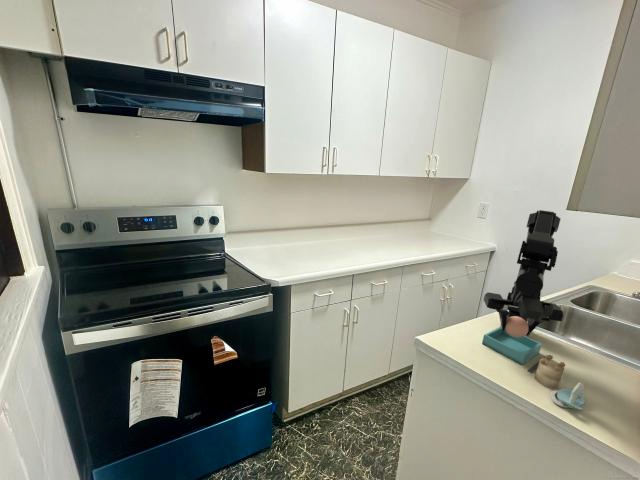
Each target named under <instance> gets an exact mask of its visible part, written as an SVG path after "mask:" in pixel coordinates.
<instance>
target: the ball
mask: <svg viewBox="0 0 640 480" xmlns="http://www.w3.org/2000/svg"><path fill="white" fill-rule="evenodd" d="M527 323H528V321H527V322H526V321H525V320H524V319H523V318H521V317H518V316H512V317H509V318H508V319H507V320H506V326H505V330H506V332H507V333H508V334H509V335H510V336H512V337H516V338H521V337H524V336H526V334H527V333H528V330H529V327H528V324H527Z"/></svg>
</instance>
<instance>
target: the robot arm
mask: <svg viewBox="0 0 640 480" xmlns="http://www.w3.org/2000/svg"><path fill="white" fill-rule="evenodd" d="M560 223H561V218H560V217H559V216H557V213H556V212H554V211H549V210H541V209H539V210H536V212H533V213H530V214H529V216H528V218H527V224H526V228H528V229H527V232H526V233H527V234H526V235H527V236H526V239H525V240H522V242H521V247H520V250H519V253H518V257H517V261H516V264H518V265H520V266H519V269H518V274H517V276H516V279H515V281H514V283H513V287H512V288H511V291H509V292H508V294H507V296H506V297H507V298H506V299H505V298H503V296H502V295H501V294H500V293H494V292H486V293H485V294H484V296H483V302H484V304H485V306H486V308H488V309H492V310H496V312H497V313H498V315H499V321H500V327H501V328H502V331H504V330H505V326H506V320H507V319H508V318H509V317H512V316H518V317H521V318H523V319H524V320H525V321H526V322H527V324H528V327H529V330H528V333H527V334H526V335H525V336H526V337H528V336H530V335H531V333H532V332H533V331H534V330H535V329H536V328H537V327H538V326H539V325H541V323H544V322H547V323H548V322H550V321H556V322H563V320H564V316H565V313H564V311H563V310H562V308H560V307H559V306H558V305H557V304H556V303H551V302H546V301H543V300H541V296H542V292H541V291H542V290H543V287H544V275H545V271H550V272H551V271H552V268H555V266H556V263H557V259H558V253H559V252H558V250H557V249H558V248H557V246H555V238H554V237H553V236H554V235H555V233H557V232H558V230H559V227H560Z"/></svg>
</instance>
